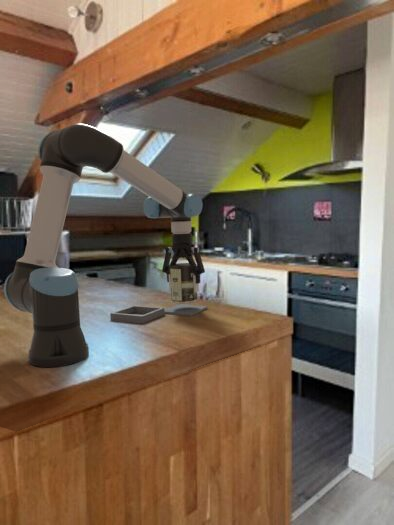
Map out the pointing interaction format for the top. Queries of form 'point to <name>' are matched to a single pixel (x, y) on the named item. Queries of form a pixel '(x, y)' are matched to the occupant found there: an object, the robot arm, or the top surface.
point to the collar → (128, 317)
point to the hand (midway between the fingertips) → (183, 291)
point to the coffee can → (182, 283)
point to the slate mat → (185, 309)
